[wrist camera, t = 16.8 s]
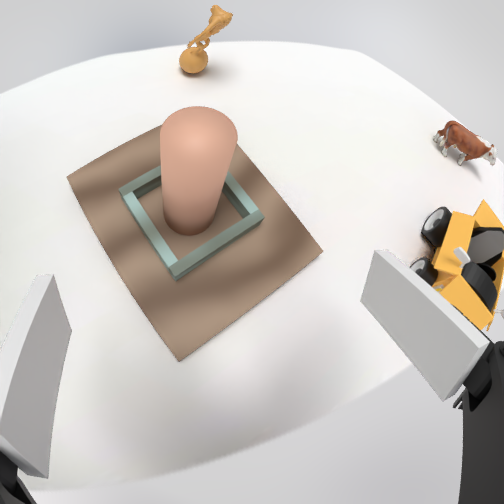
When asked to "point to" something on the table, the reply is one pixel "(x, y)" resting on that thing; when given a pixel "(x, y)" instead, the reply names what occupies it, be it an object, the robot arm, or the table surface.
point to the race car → (466, 261)
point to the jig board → (191, 242)
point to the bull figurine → (465, 143)
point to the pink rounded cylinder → (194, 166)
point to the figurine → (196, 56)
